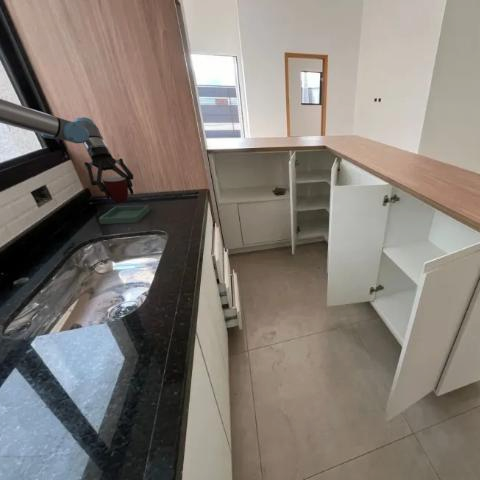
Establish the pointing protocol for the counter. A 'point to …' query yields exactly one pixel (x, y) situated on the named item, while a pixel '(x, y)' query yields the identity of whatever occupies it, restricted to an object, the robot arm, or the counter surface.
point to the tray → (124, 214)
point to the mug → (117, 188)
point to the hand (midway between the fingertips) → (120, 194)
